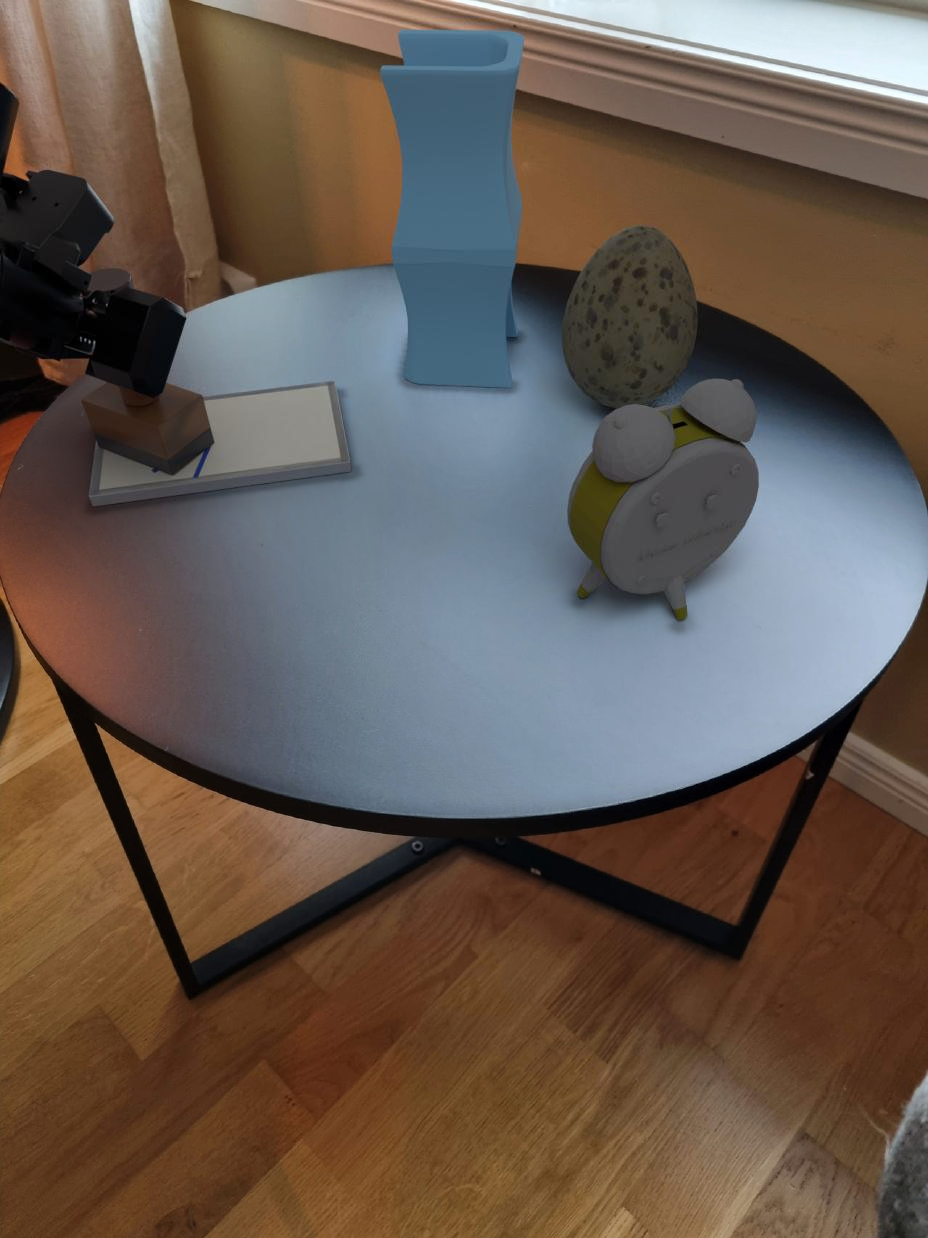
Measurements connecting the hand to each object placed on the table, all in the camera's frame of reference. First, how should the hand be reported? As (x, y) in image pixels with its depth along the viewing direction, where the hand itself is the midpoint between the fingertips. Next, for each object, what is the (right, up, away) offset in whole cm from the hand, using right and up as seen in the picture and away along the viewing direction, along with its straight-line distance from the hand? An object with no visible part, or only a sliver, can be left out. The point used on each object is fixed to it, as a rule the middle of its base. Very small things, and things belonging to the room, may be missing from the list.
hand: (143, 355), depth 70 cm
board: (+4, -6, +6) cm, 9 cm away
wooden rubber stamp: (-1, -6, +5) cm, 8 cm away
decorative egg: (+38, -1, +10) cm, 39 cm away
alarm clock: (+38, -18, -6) cm, 42 cm away
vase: (+24, +4, +15) cm, 29 cm away
